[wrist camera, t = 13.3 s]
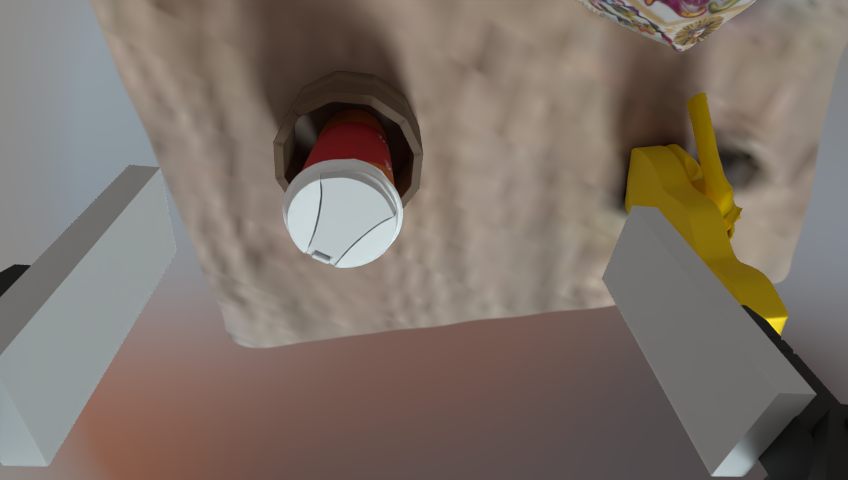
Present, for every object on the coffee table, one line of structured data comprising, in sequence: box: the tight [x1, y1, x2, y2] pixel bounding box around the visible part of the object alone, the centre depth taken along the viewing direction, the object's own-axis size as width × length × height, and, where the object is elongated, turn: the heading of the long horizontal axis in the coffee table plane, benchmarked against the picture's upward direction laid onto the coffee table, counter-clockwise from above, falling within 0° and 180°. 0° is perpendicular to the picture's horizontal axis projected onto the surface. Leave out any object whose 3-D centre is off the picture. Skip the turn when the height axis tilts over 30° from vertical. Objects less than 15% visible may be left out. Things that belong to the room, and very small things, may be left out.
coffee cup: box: [283, 109, 403, 268], centre depth 39 cm, size 8×8×15 cm
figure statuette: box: [625, 93, 788, 335], centre depth 40 cm, size 18×8×22 cm, turn 6°
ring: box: [273, 71, 423, 208], centre depth 43 cm, size 12×12×6 cm
